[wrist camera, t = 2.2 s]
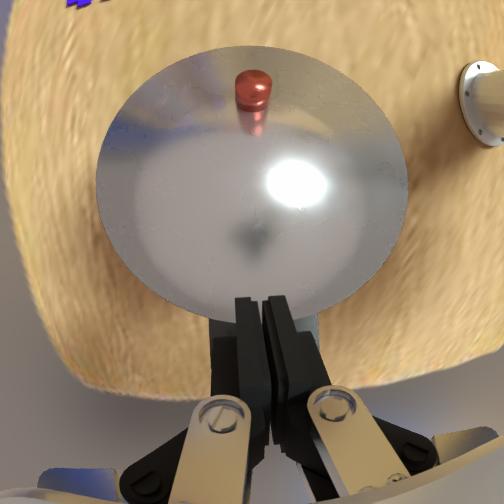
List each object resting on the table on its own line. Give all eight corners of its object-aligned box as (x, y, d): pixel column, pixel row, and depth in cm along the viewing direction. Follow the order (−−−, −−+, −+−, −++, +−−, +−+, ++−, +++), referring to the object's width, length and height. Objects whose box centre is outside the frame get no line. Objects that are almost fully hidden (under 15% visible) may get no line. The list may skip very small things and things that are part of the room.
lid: (364, 67, 19) (376, 42, 16) (419, 343, 15) (448, 346, 12) (128, 68, 18) (118, 42, 15) (97, 360, 14) (71, 367, 11)
